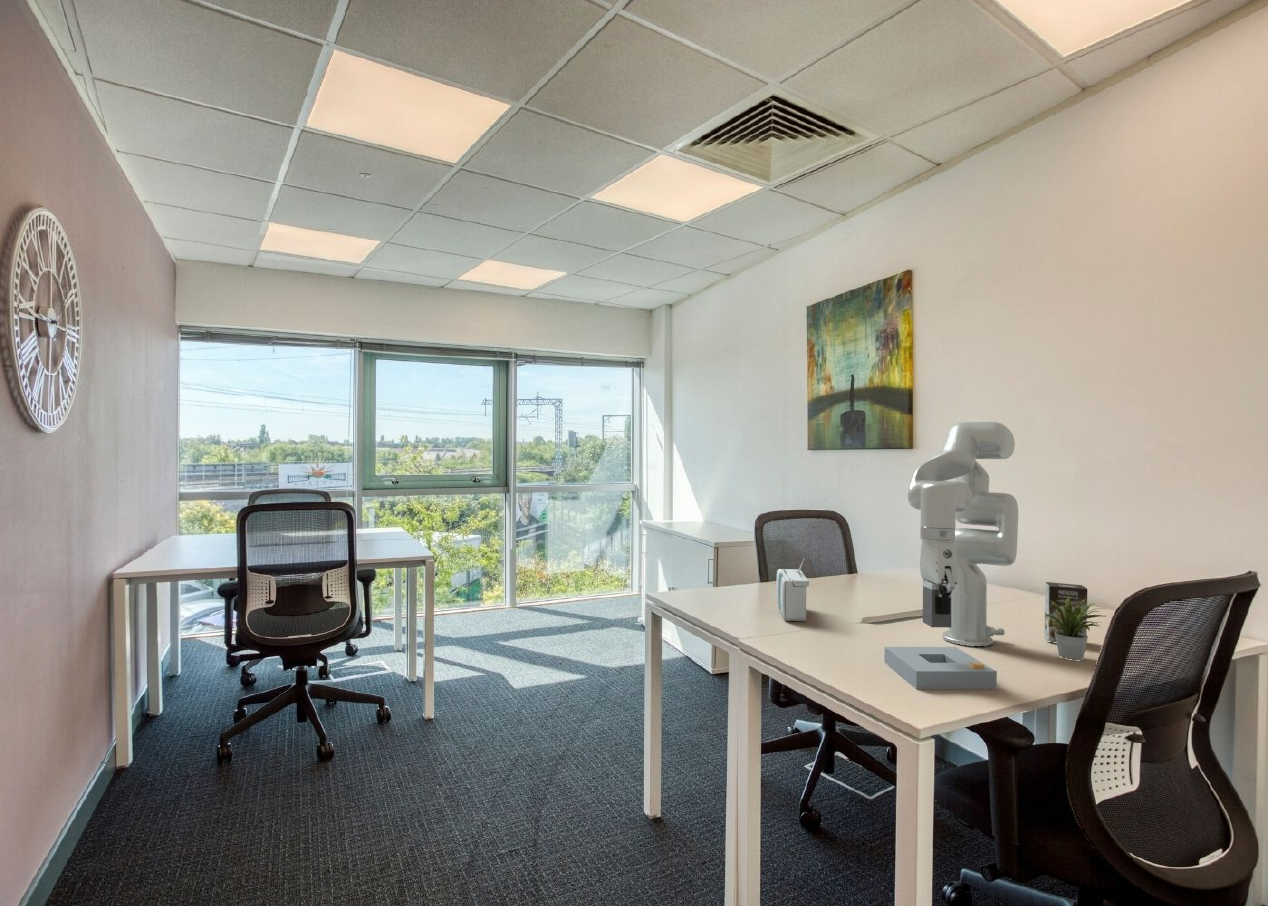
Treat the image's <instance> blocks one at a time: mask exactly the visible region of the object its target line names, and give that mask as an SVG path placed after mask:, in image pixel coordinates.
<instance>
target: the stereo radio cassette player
mask: <svg viewBox="0 0 1268 906" xmlns="http://www.w3.org/2000/svg"><path fill="white" fill-rule="evenodd" d="M804 560H806V559H805V557H803V559H802V561H801V563H800V566H799V568H797V569H796V568H795V569H794V568H791V569H790V568H789V569H788V568H787V569H786V568H779V569H777V571H776V590H775V591H776V602H777V605H778V607H779V610H780V613H781V615H782V617H783V618H784V619H785V620H786V621H787V622H790V621H791V622H792V621H793V622H803V621H804V622H805V621H807V587H809V586H810V581H809V579H808V578H807V577H806V575H805V574H804V573H803V571H802V567H803V563H804Z"/></svg>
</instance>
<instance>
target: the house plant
mask: <svg viewBox="0 0 1268 906" xmlns="http://www.w3.org/2000/svg"><path fill="white" fill-rule="evenodd" d="M1085 599H1086V598H1085ZM1085 599H1084V600H1082V601H1081V602H1080V603H1079V604H1078V605H1077V606H1076V608H1075V609H1074V611H1073V612H1072V604H1071V601H1070V596H1069V594H1068V598H1067V599H1066V602H1065V606H1064V605H1063V603H1061V602H1060V601H1059V602H1060V603H1061V604H1062V605H1063V607H1064V609H1065V611H1064V613H1065V616H1064V614H1063V611H1062V610H1061V609H1060V608H1059V607H1058V605H1057V604H1056V603H1054V602H1053V601H1051V600H1050V601H1051V603H1052V605H1053V606H1055V608H1056V609H1057V610H1058V612H1059V614H1060V616H1061V618H1062V620H1061V621H1062V623H1061V622H1060V620H1059V619H1057V618H1056V617H1055V616H1053V615H1050V614H1046V616H1048V617H1051V618H1053V619H1054V620H1056V621H1057V622H1056V621H1053V624H1054V625H1053V624H1052V625H1053V626H1060V625H1061V626H1060V627H1061V628H1062V630H1058V631H1055V637H1056V642H1057V643H1056V646H1057V652H1058V657H1059V656H1061V657H1063V658H1067V659H1072V660H1082V659H1083V660H1084V657H1085V652H1086V648H1087V641H1088V634H1087V635H1085V634H1083V633H1080V632H1081V631H1082V630H1084V629H1085V628H1087V630H1088V631H1089V632H1091V630H1090V627H1093V626H1094V627H1098V628H1100V624H1098V621H1090V620H1088V619H1092V618H1096V617H1097V618H1098V617H1106V615H1101V614H1092V613H1095V612H1096V613H1097V612H1099V613H1100V612H1101V611H1099V610H1106V608H1103V607H1101V608H1097V610H1096V608H1092V609H1090V608H1091V607H1092V606H1094V605H1095V604H1096V602H1095V603H1090V604H1087V606H1086V607H1085V608H1083V609H1082V608H1080V607H1081V606H1082V604H1083V602H1084V601H1085ZM1056 601H1057V600H1056ZM1048 605H1049V604H1048ZM1049 606H1050V605H1049ZM1052 609H1053V608H1052ZM1081 609H1082V610H1081ZM1089 609H1090V610H1089ZM1053 610H1054V609H1053ZM1054 611H1055V610H1054ZM1086 611H1087V612H1086ZM1055 612H1056V611H1055ZM1085 612H1086V613H1087V615H1086V616H1082V615H1084V614H1085ZM1056 613H1057V612H1056ZM1057 614H1058V613H1057ZM1058 616H1059V615H1058ZM1060 616H1059V617H1060ZM1081 616H1082V617H1081ZM1061 618H1060V619H1061ZM1085 619H1087V621H1086V622H1083V623H1082V621H1083V620H1085ZM1081 623H1082V624H1081ZM1086 623H1087V625H1084V624H1086ZM1102 623H1103V624H1104V622H1103V621H1102ZM1055 624H1060V625H1055ZM1084 627H1085V628H1084ZM1082 628H1084V629H1082ZM1081 629H1082V630H1081ZM1079 630H1081V631H1080V632H1078V631H1079Z"/></svg>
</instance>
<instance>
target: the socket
mask: <svg viewBox="0 0 1268 906" xmlns="http://www.w3.org/2000/svg"><path fill="white" fill-rule="evenodd" d="M883 649H884V659H883V660H884V662H885V663H884V662H883V663H884V664H886V663H887V664H888V665H889V666H890V667H891V668H890V667H889V666H888V665H887V664H886V665H887V666H888V667H889V668H890V669H891V670H893V671H894V672H895V673H896V674H897V675H899V674H900V675H901V676H902V677H903V678H902V677H901V676H900V675H899V676H900V677H901V678H902V679H903V680H905V681H906V682H907V683H908V684H910V685H911V684H912V685H913V686H914V687H915V690H998V689H997V687H998V686H997V685H998V682H997V675H998V673H997V670H995V669H994V668H991V667H990V666H988V665H987V664H985V663H983V662H981V661H980V660H979V659H977V658H975V657H973V656H972V655H970V654H969V653H967V652H965V651H963V650H962V649H960V648H958V647H957V646H884V648H883ZM912 685H911V686H912ZM913 686H912V687H913ZM914 687H913V688H914Z"/></svg>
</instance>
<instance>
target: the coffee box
mask: <svg viewBox="0 0 1268 906" xmlns="http://www.w3.org/2000/svg"><path fill="white" fill-rule="evenodd" d="M1068 594H1069V596H1070V601H1071V604H1072V612H1073V611H1074V609H1075V608H1076V606H1077V605H1078V604H1079V603H1080V602H1081V601H1082V600H1084V599H1085V598H1086V599H1085V601H1084V602H1083V604H1082V606H1081V607H1080V608H1082V609H1083V608H1085V607H1086V606H1087V605H1088V588H1087V587H1086V586H1084V585H1082V584H1072V583H1062V582H1051V581H1046V582H1045V595H1044V597H1045V598H1044V599H1045V600H1044V635H1045V637H1046V639H1047V640H1048V641H1051V642H1056V637H1055V631H1058V630H1062V628H1061V627H1060V626H1061V625H1060V624H1055V625H1060V626H1053V625H1054V624H1053V621H1056V620H1054V619H1053V618H1051V617H1048V616H1046V614H1050V615H1053V616H1055V617H1056V618H1057V619H1059V620H1060V622H1061V623H1062V621H1061V620H1062V618H1061V616H1060V614H1059V612H1058V610H1057V609H1056V608H1055V606H1053V605H1052V603H1051V601H1053V602H1054V603H1056V604H1057V605H1058V607H1059V608H1060V609H1061V610H1062V611H1063V614H1064V616H1065V613H1064V611H1065V609H1064V607H1063V605H1064V606H1065V602H1066V599H1067V598H1068ZM1050 600H1051V601H1050ZM1056 600H1057V601H1056ZM1059 601H1060V602H1061V603H1063V605H1062V604H1061V603H1060V602H1059ZM1048 604H1049V605H1050V606H1049V605H1048ZM1052 608H1053V609H1054V610H1055V611H1056V612H1057V613H1058V614H1057V613H1056V612H1055V611H1054V610H1053V609H1052ZM1082 609H1081V610H1082ZM1087 611H1088V610H1087ZM1087 611H1086V612H1087ZM1086 612H1085V614H1084V615H1082V616H1086V615H1087V614H1088V612H1087V613H1086ZM1058 615H1059V616H1060V617H1059V616H1058ZM1082 616H1081V617H1082ZM1060 618H1061V619H1060ZM1086 621H1088V619H1085V620H1083V621H1082V623H1083V622H1086ZM1056 622H1057V621H1056ZM1082 623H1081V624H1082ZM1052 624H1053V625H1052ZM1087 624H1088V623H1086V624H1084V625H1087ZM1084 628H1085V627H1084ZM1084 628H1082V629H1084ZM1082 629H1081V630H1082ZM1081 630H1079V631H1078V632H1080V631H1081ZM1087 630H1088V629H1087V628H1085V629H1084V630H1082V631H1081V632H1080V633H1083V634H1085V635H1087V636H1088V634H1087ZM1045 637H1044V638H1045ZM1046 639H1045V640H1046ZM1047 640H1046V641H1047Z"/></svg>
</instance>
